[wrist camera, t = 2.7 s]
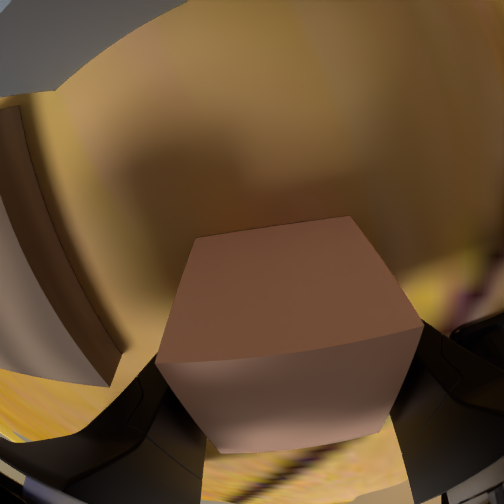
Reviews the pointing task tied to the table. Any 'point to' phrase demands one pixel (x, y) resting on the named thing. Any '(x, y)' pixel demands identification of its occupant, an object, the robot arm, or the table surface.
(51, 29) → the slate block
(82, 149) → the table surface
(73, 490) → the robot arm
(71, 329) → the plinth
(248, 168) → the table surface
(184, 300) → the terracotta block
